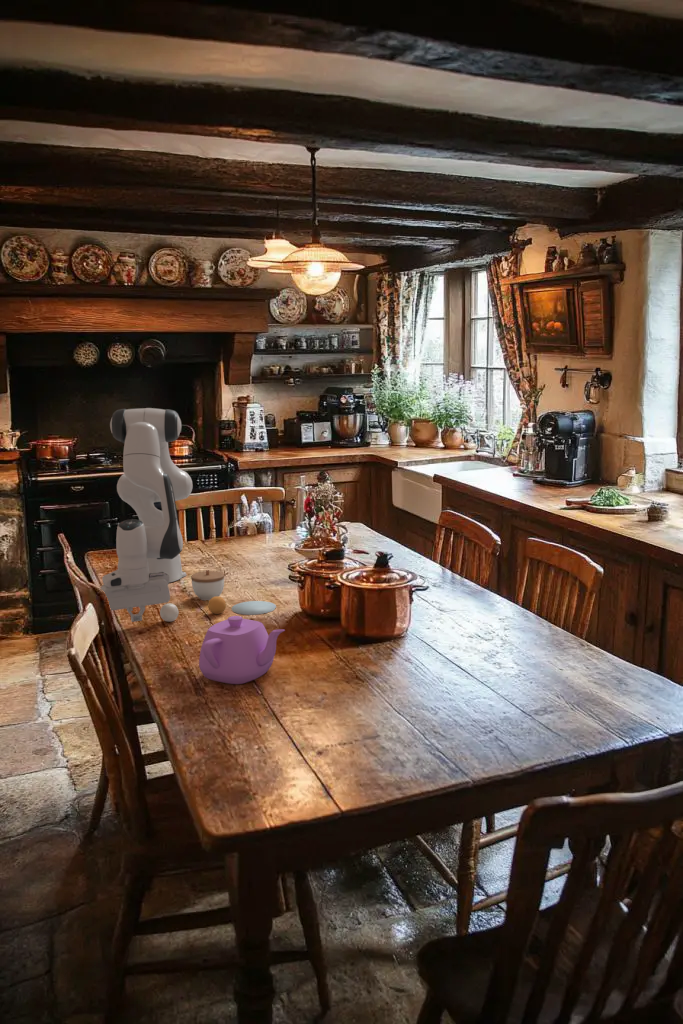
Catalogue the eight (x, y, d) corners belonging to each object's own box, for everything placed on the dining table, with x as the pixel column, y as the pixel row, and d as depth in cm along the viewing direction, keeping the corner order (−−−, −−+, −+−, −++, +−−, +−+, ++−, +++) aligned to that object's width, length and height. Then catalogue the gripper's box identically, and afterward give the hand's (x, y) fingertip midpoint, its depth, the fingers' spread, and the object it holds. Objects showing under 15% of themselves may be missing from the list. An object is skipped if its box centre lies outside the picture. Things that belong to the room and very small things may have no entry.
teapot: (179, 685, 209) (176, 626, 207) (231, 658, 227) (229, 603, 224) (256, 703, 198) (253, 641, 195) (304, 673, 216) (303, 615, 213)
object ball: (206, 612, 267) (205, 595, 266) (223, 610, 269) (222, 593, 268) (211, 617, 262) (210, 600, 261) (228, 614, 264) (228, 597, 263)
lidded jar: (208, 604, 275) (207, 576, 273) (185, 599, 282) (184, 571, 280) (232, 596, 284) (230, 569, 282) (209, 591, 290) (207, 564, 288)
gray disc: (225, 605, 274) (225, 604, 274) (266, 599, 280) (266, 598, 280) (240, 617, 261) (240, 616, 261) (282, 610, 267) (282, 610, 267)
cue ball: (158, 620, 260) (157, 602, 259) (176, 617, 262) (175, 600, 261) (163, 625, 255) (162, 607, 254) (181, 622, 258) (180, 604, 257)
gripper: (165, 568, 259) (168, 612, 262) (96, 577, 250) (100, 623, 253) (171, 573, 253) (174, 618, 256) (101, 582, 244) (104, 629, 247)
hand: (136, 620), depth 254 cm, fingers closed
